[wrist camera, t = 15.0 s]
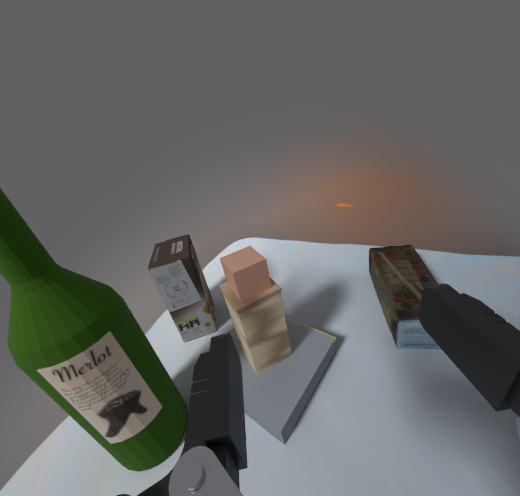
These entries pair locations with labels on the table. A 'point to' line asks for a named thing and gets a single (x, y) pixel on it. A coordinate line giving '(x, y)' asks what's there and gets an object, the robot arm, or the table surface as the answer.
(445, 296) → the robot arm
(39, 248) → the wine bottle
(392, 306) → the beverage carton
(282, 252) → the table surface
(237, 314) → the wooden block
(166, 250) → the coffee box
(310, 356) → the dock
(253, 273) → the cube
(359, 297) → the table surface
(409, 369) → the table surface
